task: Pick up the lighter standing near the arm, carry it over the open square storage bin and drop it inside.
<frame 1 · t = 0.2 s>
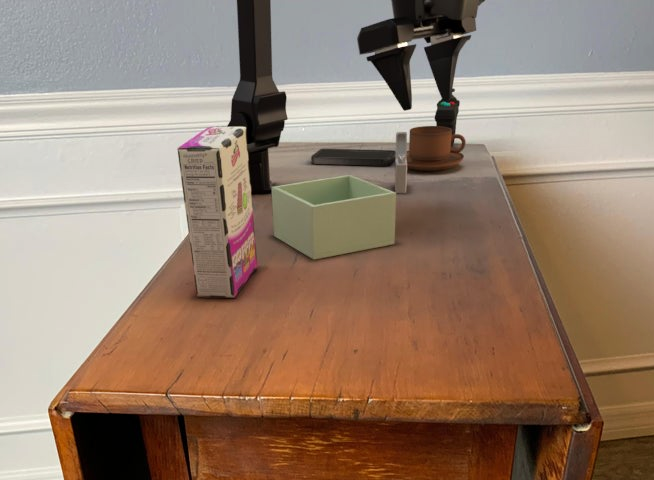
hand: (427, 104, 105), 15 cm above the table, tool pointing down, fingers open, 9 cm apart
cup and saucer: (428, 168, 142), on the table
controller: (444, 150, 154), on the table
open square storage bin: (333, 240, 108), on the table
phone: (354, 161, 148), on the table
candy bar box: (227, 284, 96), on the table
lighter: (400, 188, 131), on the table
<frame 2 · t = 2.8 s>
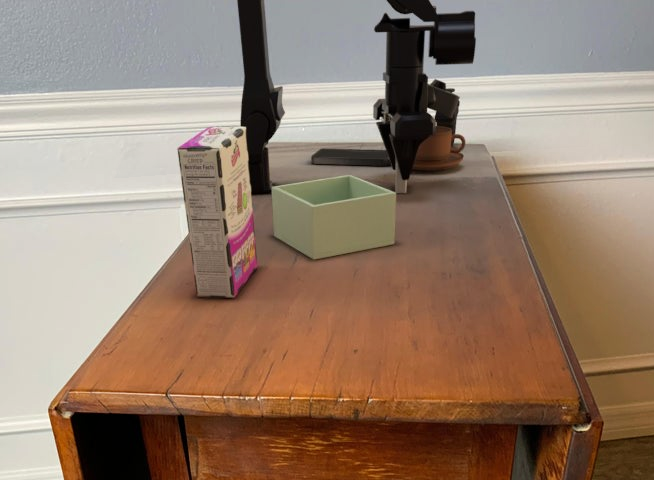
hand: (400, 174, 129), 2 cm above the table, tool pointing down, fingers closed on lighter, 7 cm apart
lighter: (400, 188, 131), on the table, touching gripper
everything else where it was.
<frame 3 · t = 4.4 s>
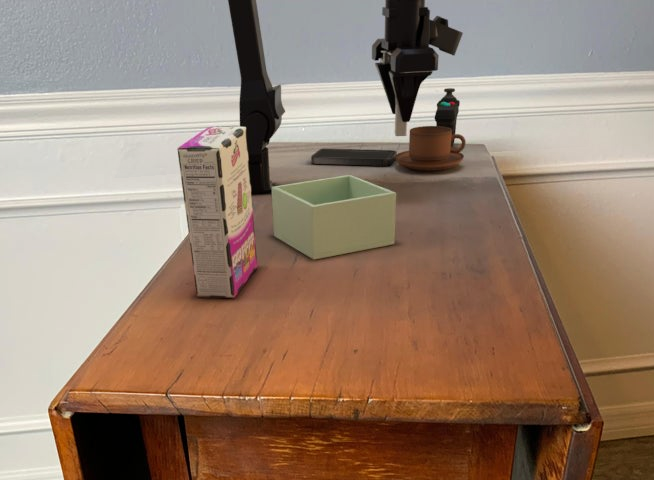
hand: (400, 117, 124), 11 cm above the table, tool pointing down, fingers closed on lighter, 7 cm apart
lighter: (400, 133, 125), point 8 cm above the table, touching gripper
everything else where it was.
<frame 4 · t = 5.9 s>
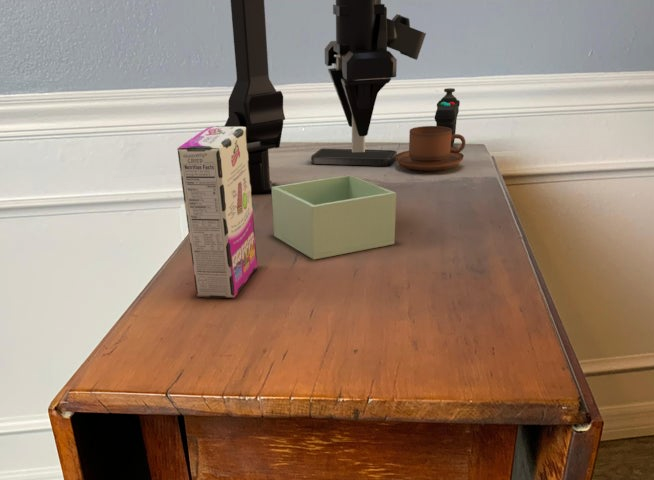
hand: (357, 131, 108), 12 cm above the table, tool pointing down, fingers closed on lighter, 7 cm apart
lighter: (358, 148, 110), point 10 cm above the table, touching gripper
everything else where it was.
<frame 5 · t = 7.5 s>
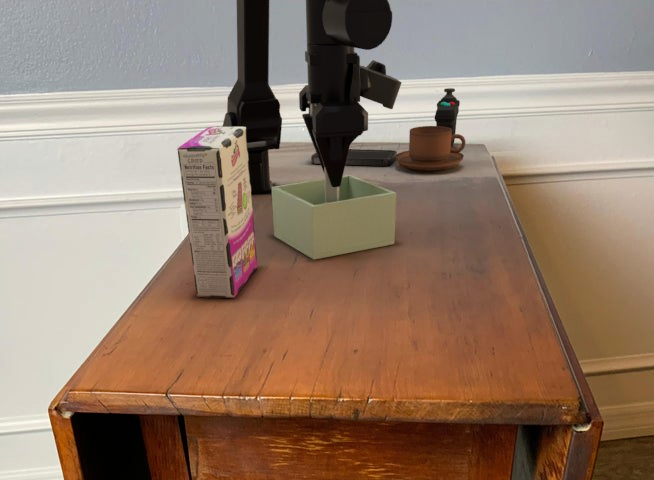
hand: (332, 180, 104), 8 cm above the table, tool pointing down, fingers closed on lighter, 7 cm apart
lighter: (332, 197, 105), point 6 cm above the table, touching gripper
everything else where it was.
when the fingers open (5 cm above the table, at t = 8.9 s): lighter drops 2 cm, resting on open square storage bin.
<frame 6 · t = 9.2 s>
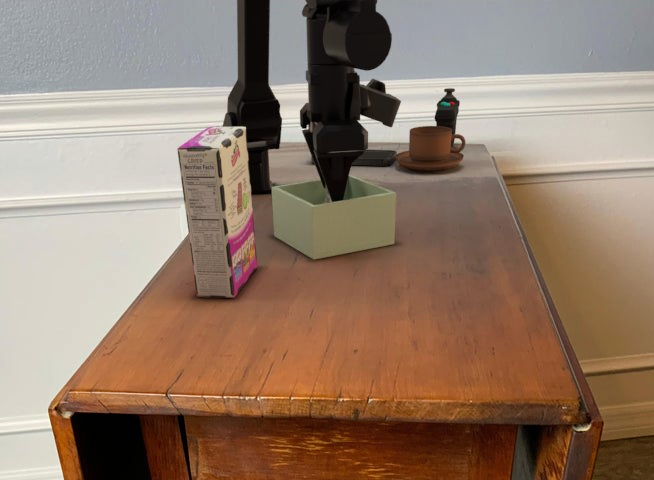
hand: (332, 196, 105), 6 cm above the table, tool pointing down, fingers open, 9 cm apart
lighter: (332, 232, 109), point 1 cm above the table, touching gripper, open square storage bin
everything else where it was.
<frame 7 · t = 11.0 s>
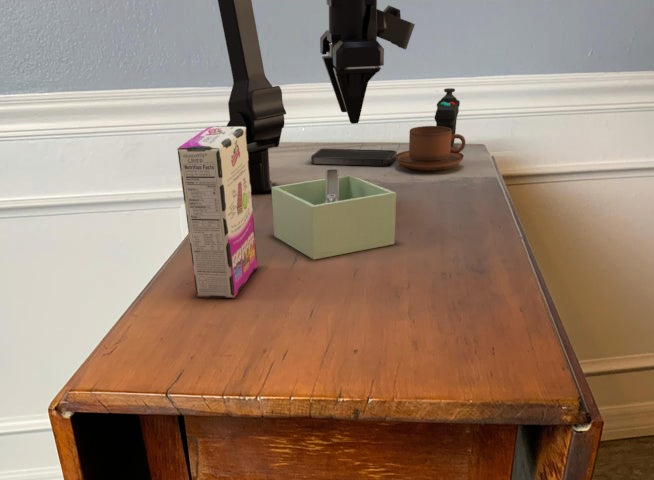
hand: (349, 117, 113), 13 cm above the table, tool pointing down, fingers open, 9 cm apart
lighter: (332, 234, 109), resting on open square storage bin
everything else where it was.
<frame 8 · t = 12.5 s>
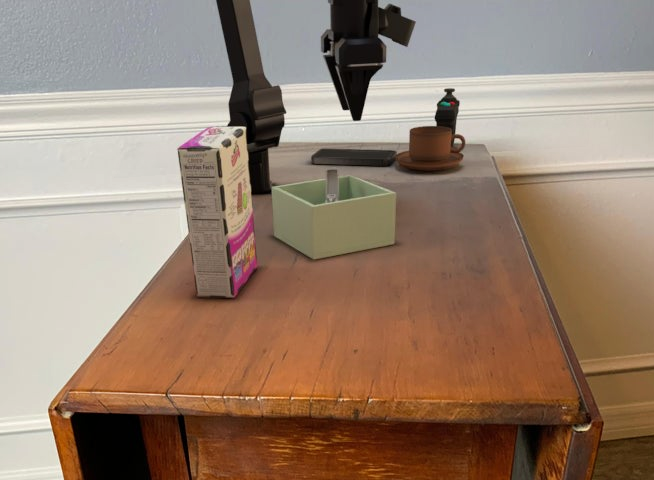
hand: (351, 115, 113), 13 cm above the table, tool pointing down, fingers open, 9 cm apart
nothing on the table moved.
at the end: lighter inside the target area in the open square storage bin (1.2 cm from its centre), point 0.4 cm above the open square storage bin's base; the gripper is holding nothing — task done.
